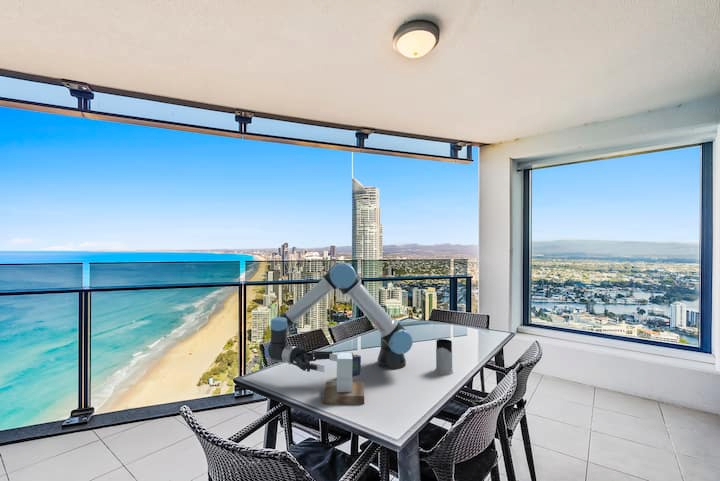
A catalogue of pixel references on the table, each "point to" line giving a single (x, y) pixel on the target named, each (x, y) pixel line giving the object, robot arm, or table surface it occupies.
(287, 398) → the table surface
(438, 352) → the glass holder
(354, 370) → the flask
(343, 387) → the small box
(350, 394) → the walnut plinth
